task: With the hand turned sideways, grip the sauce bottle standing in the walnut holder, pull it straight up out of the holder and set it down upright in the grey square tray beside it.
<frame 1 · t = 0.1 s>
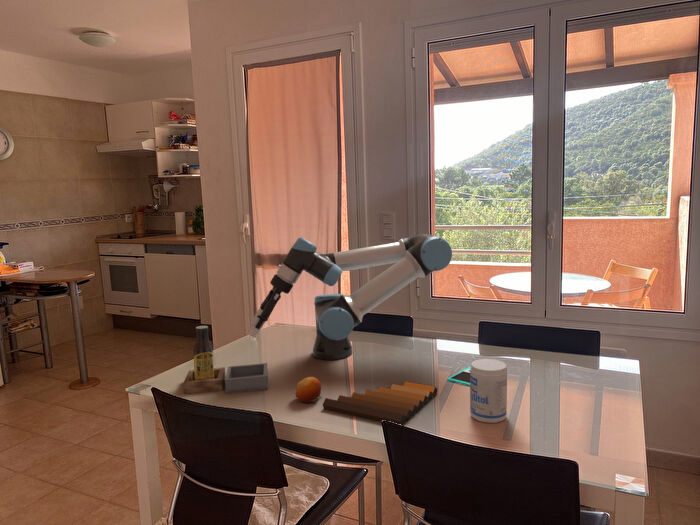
hand: (252, 330, 184), 15 cm above the table, tool tilted 35°, fingers open, 13 cm apart
brown ridged flat piece: (381, 403, 157), on the table
sauce bottle: (205, 385, 177), resting in walnut holder
fruit: (308, 400, 161), on the table
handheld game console: (473, 378, 173), on the table
walnut holder: (205, 385, 177), on the table
grey square tray: (247, 384, 176), on the table
supplement tub: (488, 417, 143), on the table
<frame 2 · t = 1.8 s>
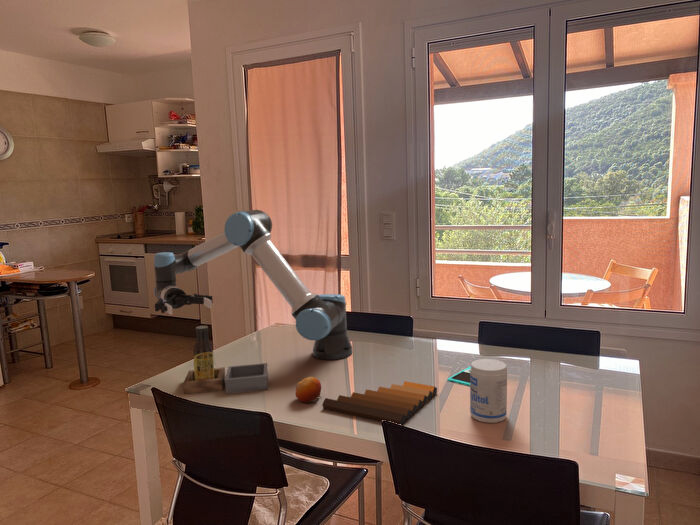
hand: (191, 307, 181), 25 cm above the table, tool horizontal, fingers open, 13 cm apart
nothing on the table moved.
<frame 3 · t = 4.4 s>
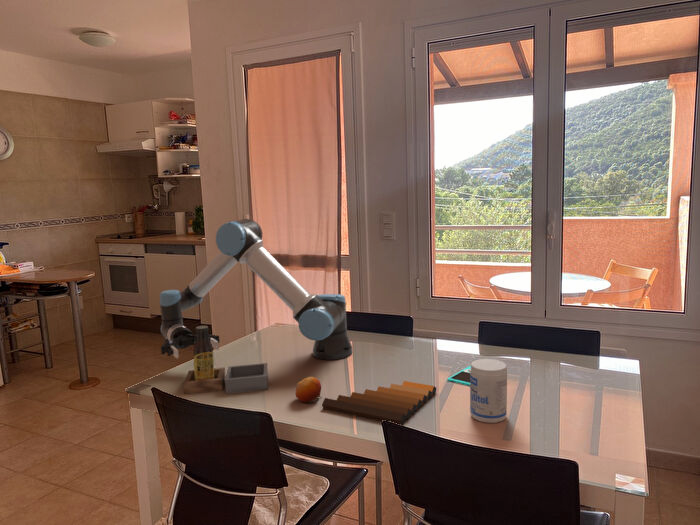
hand: (197, 350, 178), 11 cm above the table, tool horizontal, fingers open, 13 cm apart
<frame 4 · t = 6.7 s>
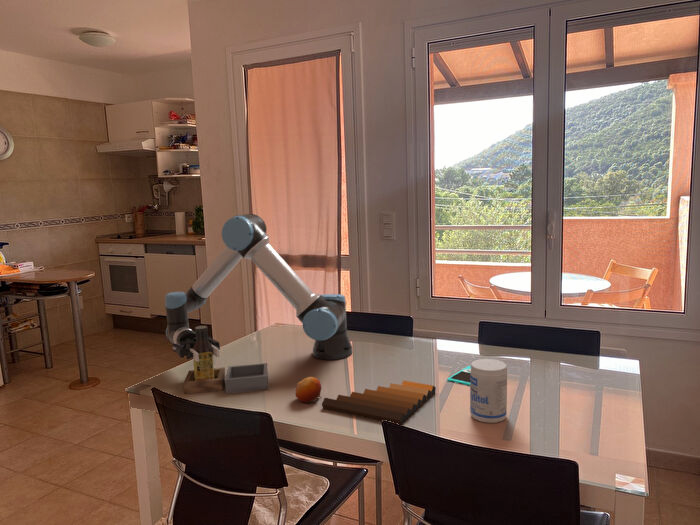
hand: (207, 355, 171), 12 cm above the table, tool horizontal, fingers closed on sauce bottle, 6 cm apart
sauce bottle: (205, 385, 177), resting in walnut holder, touching gripper
everything else where it was.
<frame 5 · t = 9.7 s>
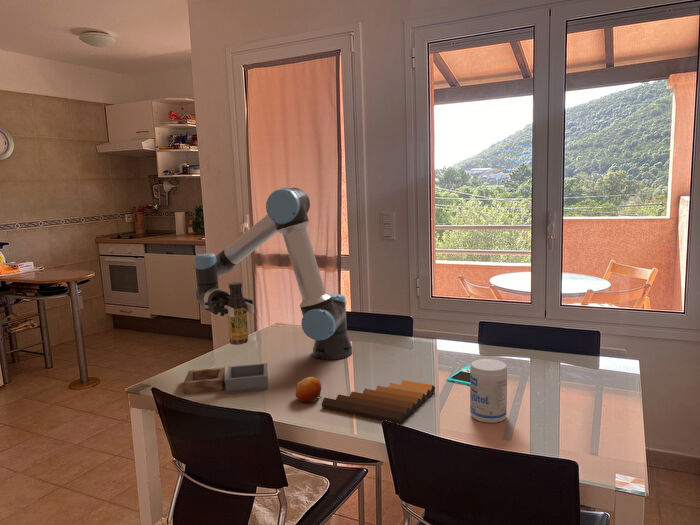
hand: (243, 311, 168), 26 cm above the table, tool horizontal, fingers closed on sauce bottle, 6 cm apart
sauce bottle: (239, 343, 174), point 14 cm above the table, touching gripper
when the fingers open (14 cm above the table, at t = 12.9 s): sauce bottle drops 1 cm, resting on grey square tray.
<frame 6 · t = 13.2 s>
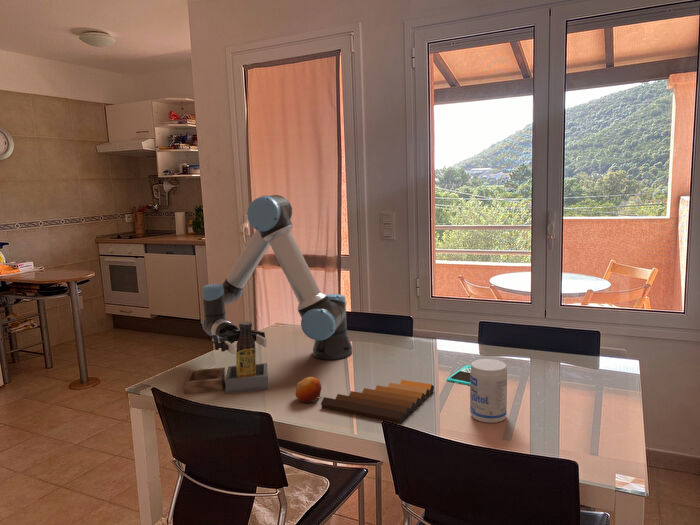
hand: (249, 346, 170), 14 cm above the table, tool horizontal, fingers open, 10 cm apart
sauce bottle: (247, 381, 175), point 1 cm above the table, touching grey square tray
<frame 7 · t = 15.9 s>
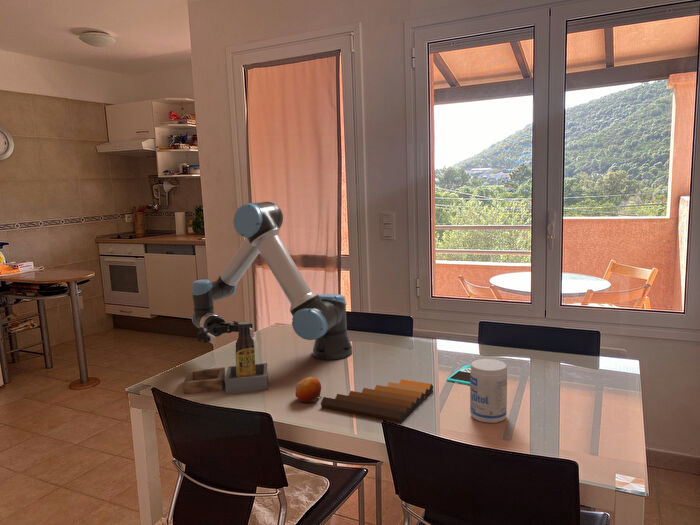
hand: (233, 336, 182), 14 cm above the table, tool horizontal, fingers open, 13 cm apart
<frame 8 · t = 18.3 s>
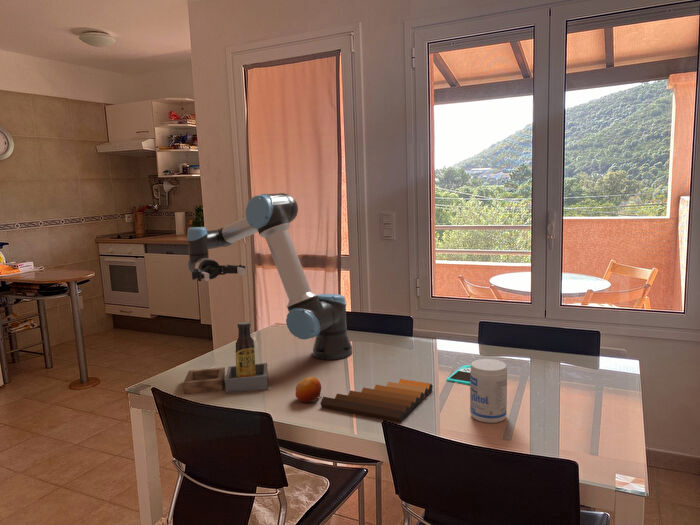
hand: (227, 275, 189), 34 cm above the table, tool horizontal, fingers open, 13 cm apart
at the end: sauce bottle inside the target area on the grey square tray (0.2 cm from its centre), point 0.8 cm above the grey square tray's base; sauce bottle tilted 0°; the gripper is holding nothing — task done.
